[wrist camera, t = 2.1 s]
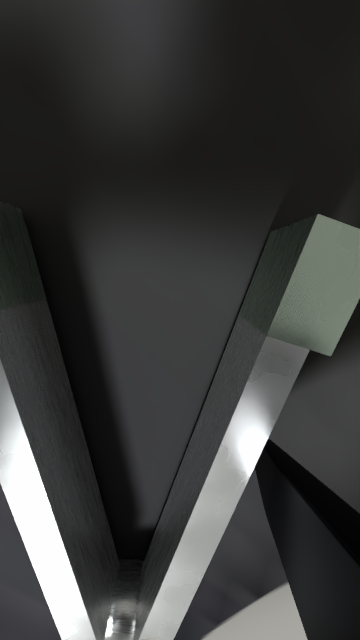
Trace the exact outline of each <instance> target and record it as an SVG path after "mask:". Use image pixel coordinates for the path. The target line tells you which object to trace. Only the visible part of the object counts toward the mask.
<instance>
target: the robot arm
mask: <svg viewBox="0 0 360 640" xmlns="http://www.w3.org/2000/svg"><path fill="white" fill-rule="evenodd" d="M255 471H256V475H257V479H258V483H259V488H260V492H261V496H262V500H263V505H264V509H265V512H266V516H267V519H268V522H269V525H270V528H271V531H272V534H273V537H274V540H275V543H276V546H277V549H278V552H279V555H280V558H281V561H282V564H283V567H284V570H285V573H286V576H287V579H288V582H289V585H290V588H291V591H292V594H293V597H294V600H295V603H296V606H297V609H298V612H299V615H300V618H301V621H302V624H303V627H304V630H305V633H306V636H307V639H308V640H360V513H358V512H357V511H356V510H355V509H354V508H352V507H351V506H350V505H349V504H347V503H346V502H345V501H344V500H343V499H341V498H340V497H339V496H338V495H337V494H335V493H334V492H333V491H332V490H331V489H329V488H328V487H327V486H326V485H324V484H323V483H322V482H321V481H320V480H318V479H317V478H316V477H315V476H314V475H312V474H311V473H310V472H309V471H308V470H306V469H305V468H304V467H303V466H301V465H300V464H299V463H298V462H297V461H295V460H294V459H293V458H292V457H291V456H289V455H288V454H287V453H286V452H285V451H283V450H282V449H281V448H280V447H278V446H277V445H276V444H275V443H274V442H272V441H271V440H270V439H268V440H267V442H266V444H265V446H264V448H263V450H262V452H261V455H260V457H259V459H258V461H257V463H256V465H255Z"/></svg>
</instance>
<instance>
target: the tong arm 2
mask: <svg viewBox="0 0 360 640" xmlns="http://www.w3.org/2000/svg"><path fill="white" fill-rule="evenodd" d="M359 299H360V229H358V228H356V227H353V226H350V225H347V224H345V223H342V222H339V221H336V220H334V219H331V218H328V217H326V216H323V215H320V214H316V215H313V216H311V217H308V218H305V219H303V220H300V221H298V222H295V223H292V224H290V225H287V226H285V227H282V228H279V229H277V230H274V231H271V232H270V235H269V237H268V240H267V242H266V245H265V248H264V250H263V253H262V255H261V258H260V261H259V263H258V266H257V268H256V271H255V274H254V276H253V279H252V281H251V284H250V287H249V289H248V292H247V294H246V297H245V300H244V302H243V305H242V307H241V310H240V313H239V315H238V318H237V320H236V323H235V326H234V328H233V331H232V333H231V336H230V338H229V341H228V344H227V346H226V349H225V351H224V354H223V357H222V359H221V362H220V364H219V367H218V370H217V372H216V375H215V377H214V380H213V383H212V385H211V388H210V390H209V393H208V396H207V398H206V401H205V403H204V406H203V409H202V411H201V414H200V416H199V419H198V422H197V424H196V427H195V429H194V432H193V435H192V437H191V440H190V442H189V445H188V448H187V450H186V453H185V455H184V458H183V461H182V463H181V466H180V468H179V471H178V474H177V476H176V479H175V481H174V484H173V487H172V489H171V492H170V494H169V497H168V500H167V502H166V505H165V507H164V510H163V512H162V515H161V518H160V520H159V523H158V525H157V528H156V531H155V533H154V536H153V538H152V541H151V544H150V546H149V549H148V551H147V554H146V557H145V559H144V562H143V564H142V571H141V580H140V588H139V596H138V605H137V613H136V622H135V630H134V638H133V640H173V639H174V637H175V635H176V633H177V631H178V629H179V627H180V624H181V622H182V620H183V618H184V616H185V614H186V612H187V610H188V607H189V605H190V603H191V601H192V599H193V597H194V595H195V593H196V590H197V588H198V586H199V584H200V582H201V580H202V578H203V576H204V573H205V571H206V569H207V567H208V565H209V563H210V561H211V559H212V556H213V554H214V552H215V550H216V548H217V546H218V544H219V542H220V540H221V537H222V535H223V533H224V531H225V529H226V527H227V525H228V523H229V520H230V518H231V516H232V514H233V512H234V510H235V508H236V506H237V503H238V501H239V499H240V497H241V495H242V493H243V491H244V489H245V486H246V484H247V482H248V480H249V478H250V476H251V474H252V472H253V469H254V467H255V465H256V463H257V461H258V459H259V457H260V455H261V452H262V450H263V448H264V446H265V444H266V442H267V440H268V438H269V435H270V433H271V431H272V429H273V427H274V425H275V423H276V421H277V418H278V416H279V414H280V412H281V410H282V408H283V406H284V404H285V401H286V399H287V397H288V395H289V393H290V391H291V389H292V387H293V384H294V382H295V380H296V378H297V376H298V374H299V372H300V370H301V367H302V365H303V363H304V361H305V359H306V357H307V355H308V353H309V350H312V351H315V352H319V353H322V354H325V355H328V356H331V355H332V353H333V351H334V349H335V347H336V345H337V343H338V341H339V339H340V337H341V335H342V333H343V331H344V329H345V327H346V325H347V323H348V321H349V319H350V317H351V315H352V313H353V311H354V309H355V307H356V305H357V303H358V301H359Z"/></svg>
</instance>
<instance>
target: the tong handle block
mask: <svg viewBox="0 0 360 640" xmlns="http://www.w3.org/2000/svg"><path fill="white" fill-rule="evenodd" d="M143 562H144V561H142V560H138V559H121V560H119V569H118V574H117V580H116V585H115V590H114V595H113V600H112V605H111V610H110V615H109V620H108V625H107V631H106V636H105V640H133V638H134V630H135V622H136V613H137V605H138V596H139V588H140V580H141V571H142V564H143Z"/></svg>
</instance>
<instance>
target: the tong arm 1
mask: <svg viewBox="0 0 360 640" xmlns="http://www.w3.org/2000/svg"><path fill="white" fill-rule="evenodd" d="M0 483H1V486H2V488H3V491H4V493H5V496H6V498H7V501H8V503H9V506H10V509H11V511H12V514H13V516H14V519H15V521H16V524H17V526H18V529H19V532H20V534H21V537H22V539H23V542H24V544H25V547H26V549H27V552H28V555H29V557H30V560H31V562H32V565H33V567H34V570H35V572H36V575H37V578H38V580H39V583H40V585H41V588H42V590H43V593H44V595H45V598H46V600H47V603H48V606H49V608H50V611H51V613H52V616H53V618H54V621H55V623H56V626H57V629H58V631H59V634H60V636H61V639H62V640H105V636H106V631H107V625H108V620H109V615H110V610H111V605H112V600H113V595H114V590H115V585H116V580H117V574H118V569H119V560H118V557H117V553H116V549H115V546H114V542H113V538H112V535H111V531H110V528H109V524H108V520H107V517H106V513H105V509H104V506H103V502H102V499H101V495H100V491H99V488H98V484H97V480H96V477H95V473H94V470H93V466H92V462H91V459H90V455H89V451H88V448H87V444H86V441H85V437H84V433H83V430H82V426H81V422H80V419H79V415H78V411H77V408H76V404H75V401H74V397H73V393H72V390H71V386H70V382H69V379H68V375H67V372H66V368H65V364H64V361H63V357H62V353H61V350H60V346H59V343H58V339H57V335H56V332H55V328H54V324H53V321H52V317H51V314H50V310H49V306H48V303H47V299H46V295H45V292H44V288H43V285H42V281H41V277H40V274H39V270H38V266H37V263H36V259H35V256H34V252H33V248H32V245H31V241H30V237H29V234H28V230H27V227H26V223H25V219H24V216H23V212H22V209H20V208H18V207H15V206H12V205H10V204H7V203H4V202H2V201H0Z"/></svg>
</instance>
